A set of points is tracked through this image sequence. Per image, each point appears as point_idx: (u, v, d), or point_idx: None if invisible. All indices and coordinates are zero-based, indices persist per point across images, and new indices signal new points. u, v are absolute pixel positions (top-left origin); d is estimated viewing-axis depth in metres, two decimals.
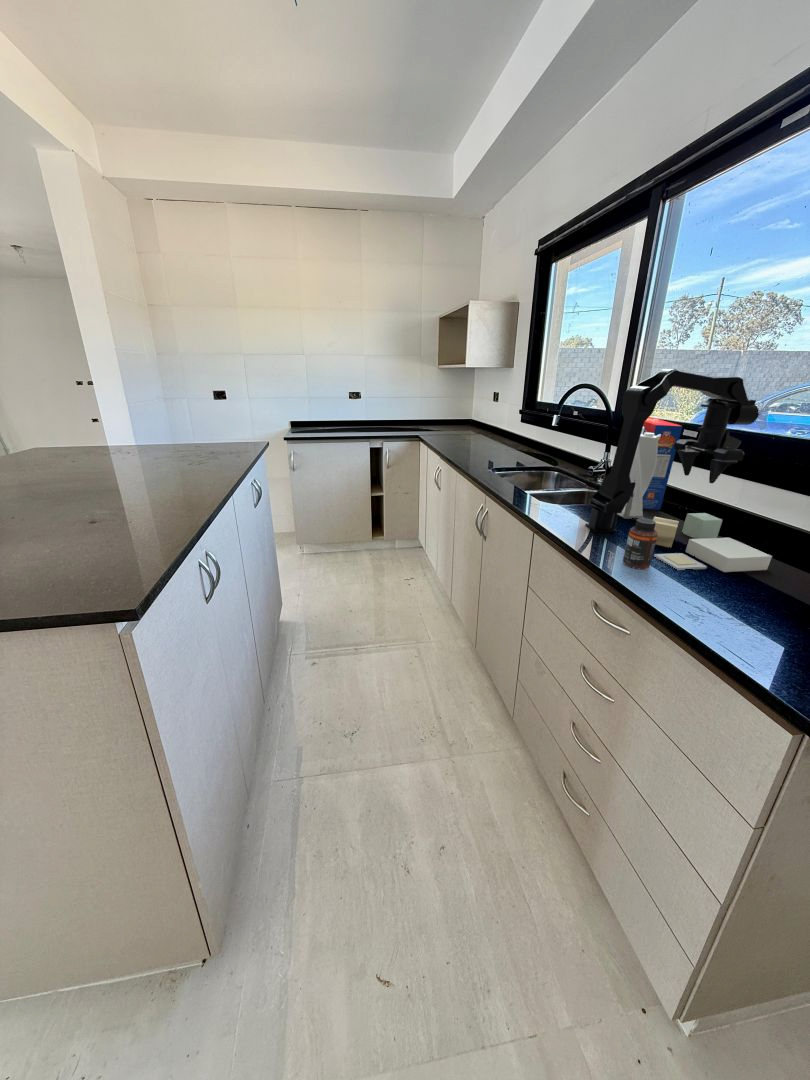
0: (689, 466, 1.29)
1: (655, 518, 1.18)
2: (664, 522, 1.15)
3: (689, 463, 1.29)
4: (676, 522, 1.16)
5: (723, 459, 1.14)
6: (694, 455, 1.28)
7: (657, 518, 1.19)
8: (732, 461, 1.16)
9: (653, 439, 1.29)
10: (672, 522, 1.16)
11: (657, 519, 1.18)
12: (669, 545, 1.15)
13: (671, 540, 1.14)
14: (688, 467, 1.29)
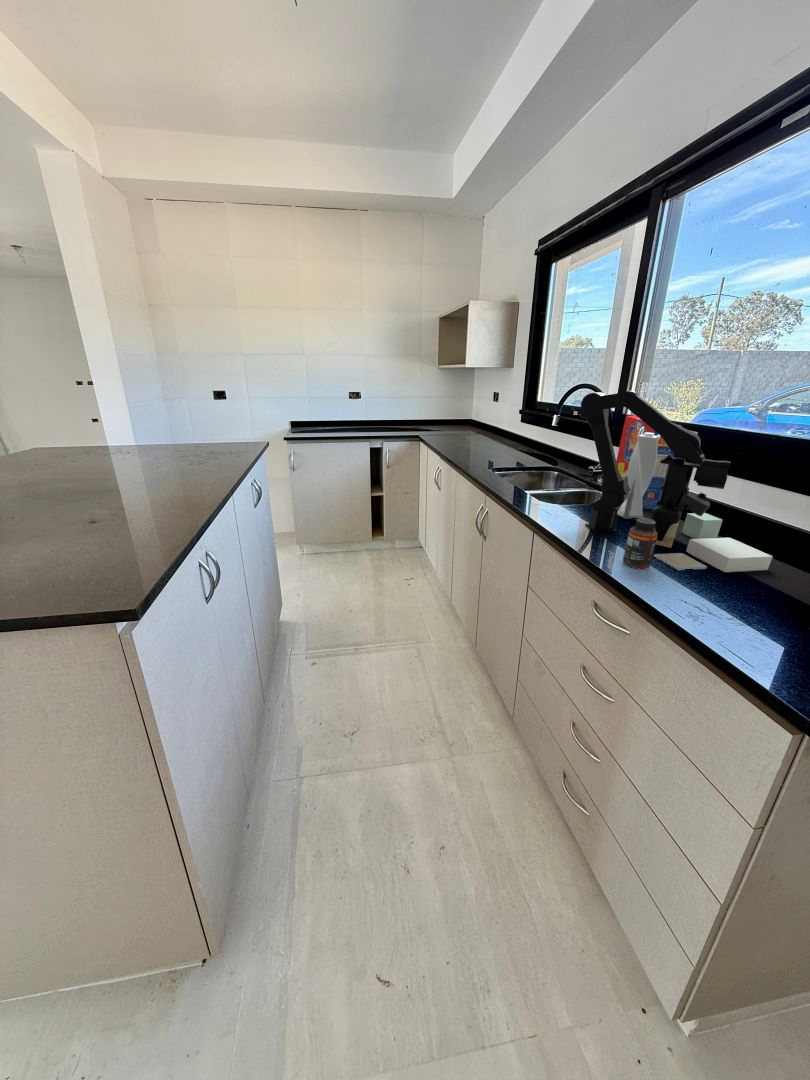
0: None
1: None
2: None
3: None
4: None
5: (651, 517, 1.10)
6: None
7: None
8: None
9: (653, 439, 1.29)
10: None
11: None
12: (669, 545, 1.15)
13: (671, 540, 1.14)
14: None
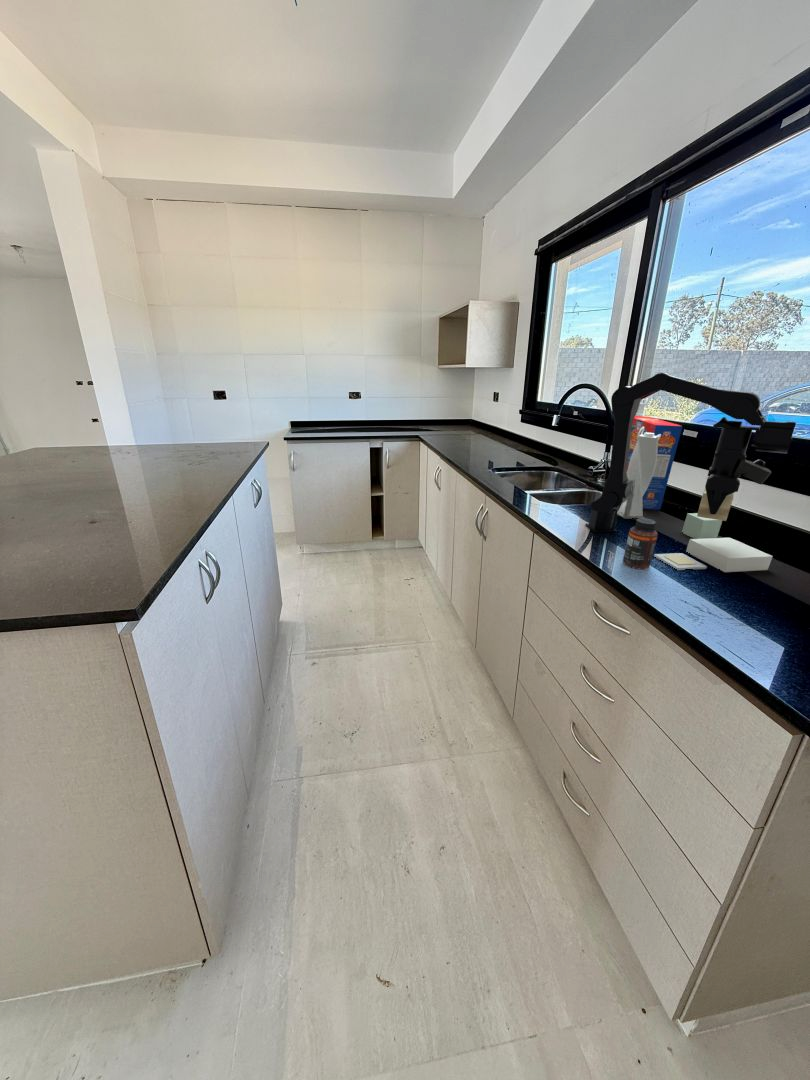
0: None
1: None
2: None
3: None
4: None
5: (706, 486, 0.99)
6: None
7: None
8: None
9: (653, 439, 1.29)
10: None
11: None
12: (724, 518, 1.04)
13: (726, 512, 1.03)
14: None
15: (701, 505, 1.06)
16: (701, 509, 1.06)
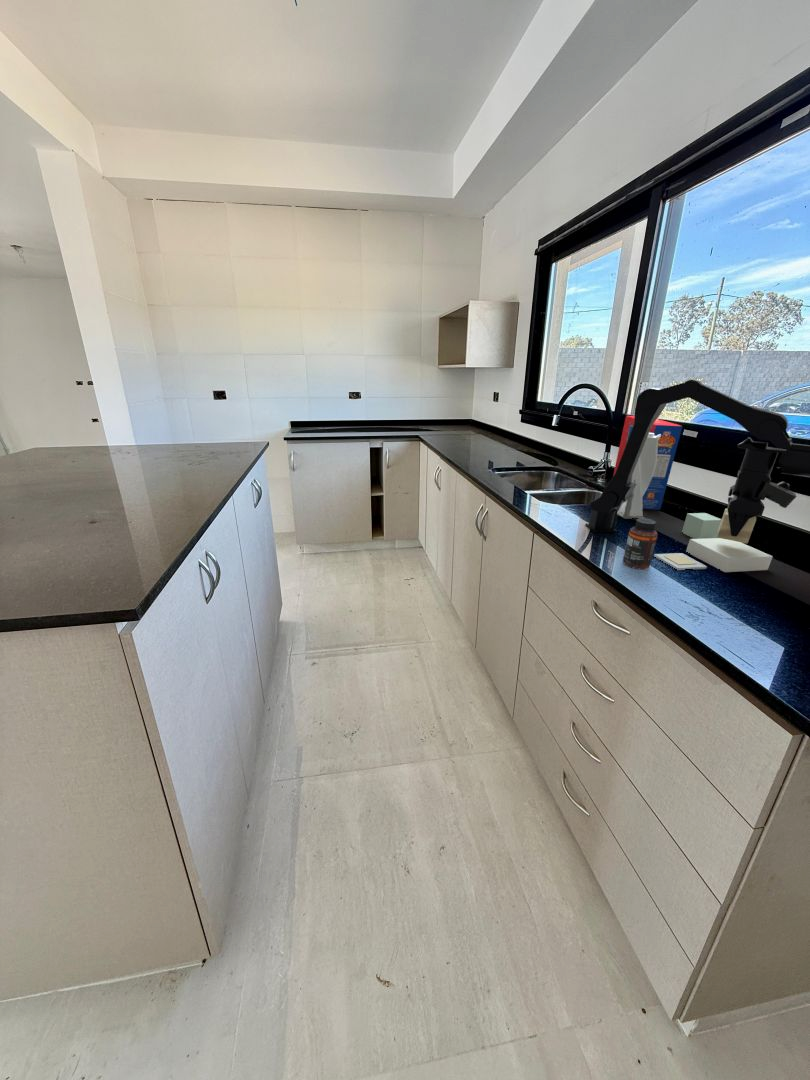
0: None
1: (727, 510, 1.06)
2: None
3: None
4: None
5: (728, 508, 0.97)
6: None
7: None
8: None
9: (653, 439, 1.29)
10: None
11: None
12: (745, 540, 1.02)
13: (748, 535, 1.01)
14: None
15: (722, 526, 1.04)
16: (722, 530, 1.04)
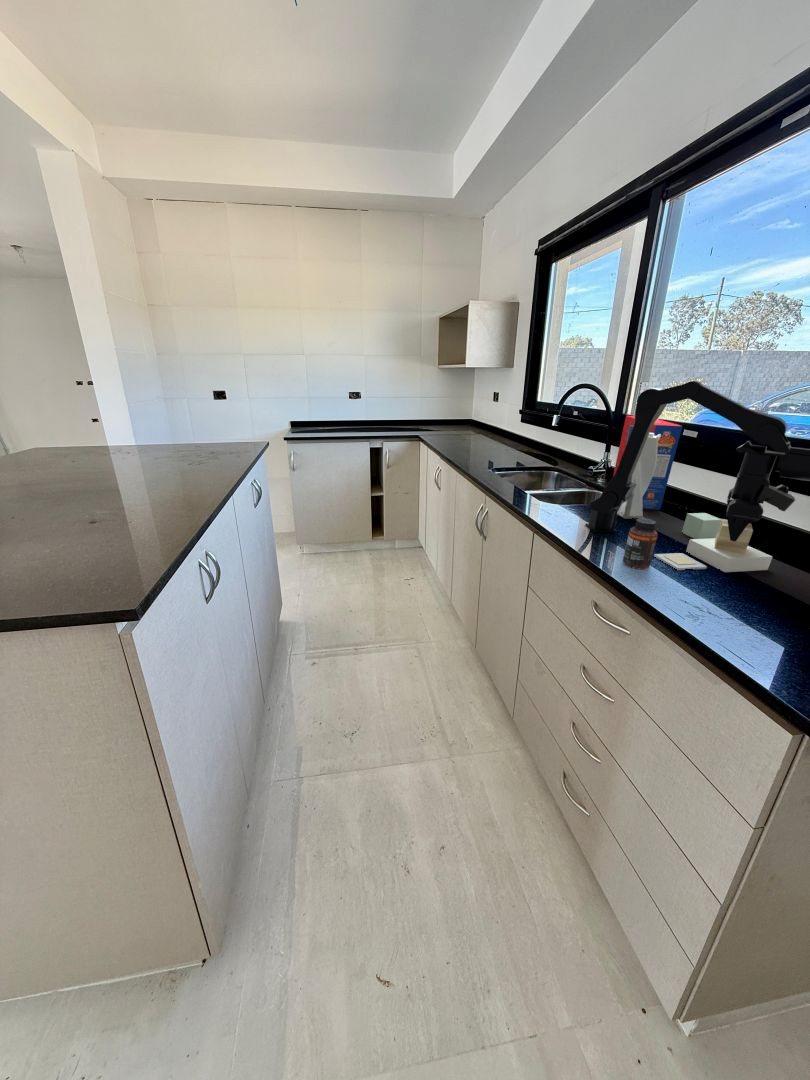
0: None
1: (724, 521, 1.07)
2: None
3: None
4: (748, 525, 1.04)
5: (727, 512, 0.97)
6: None
7: (726, 521, 1.07)
8: (747, 518, 0.96)
9: (653, 439, 1.29)
10: None
11: (727, 522, 1.06)
12: (742, 551, 1.03)
13: (745, 545, 1.02)
14: None
15: (719, 537, 1.05)
16: (719, 541, 1.05)
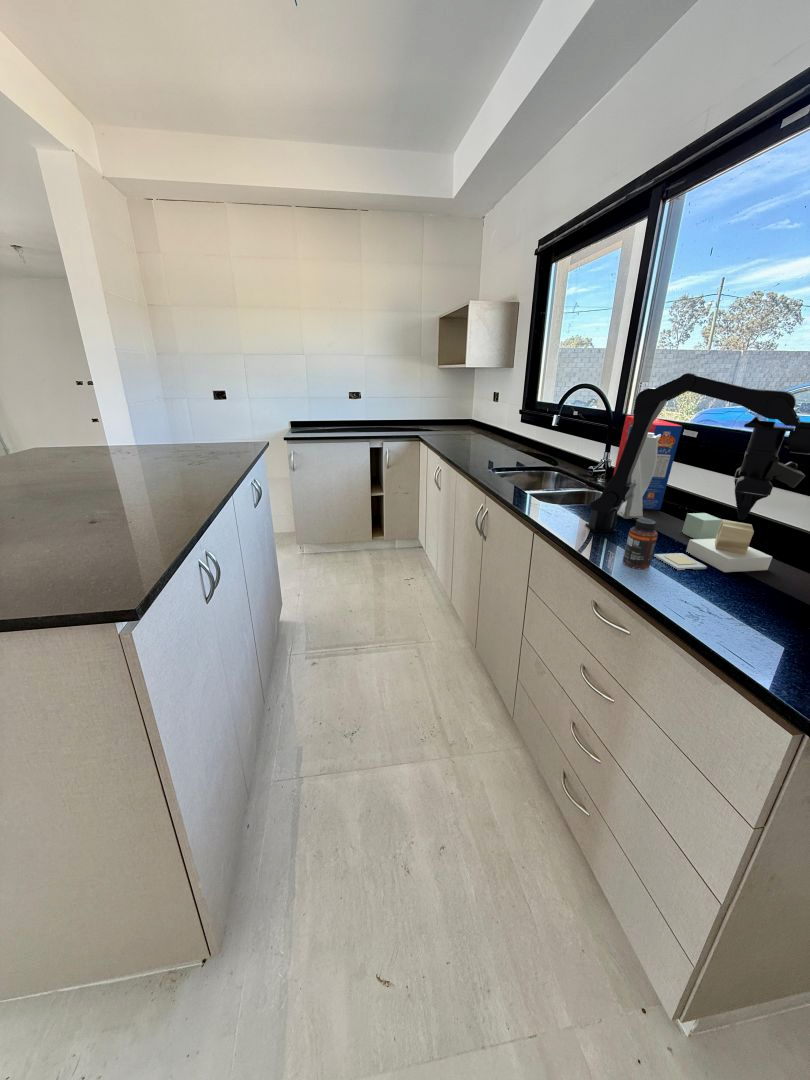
0: None
1: (724, 521, 1.06)
2: (737, 526, 1.03)
3: None
4: (749, 525, 1.04)
5: (736, 489, 0.95)
6: None
7: (726, 521, 1.06)
8: (756, 494, 0.94)
9: (653, 439, 1.29)
10: (745, 526, 1.04)
11: (727, 522, 1.06)
12: (743, 551, 1.03)
13: (746, 546, 1.02)
14: None
15: (720, 538, 1.04)
16: (720, 542, 1.05)
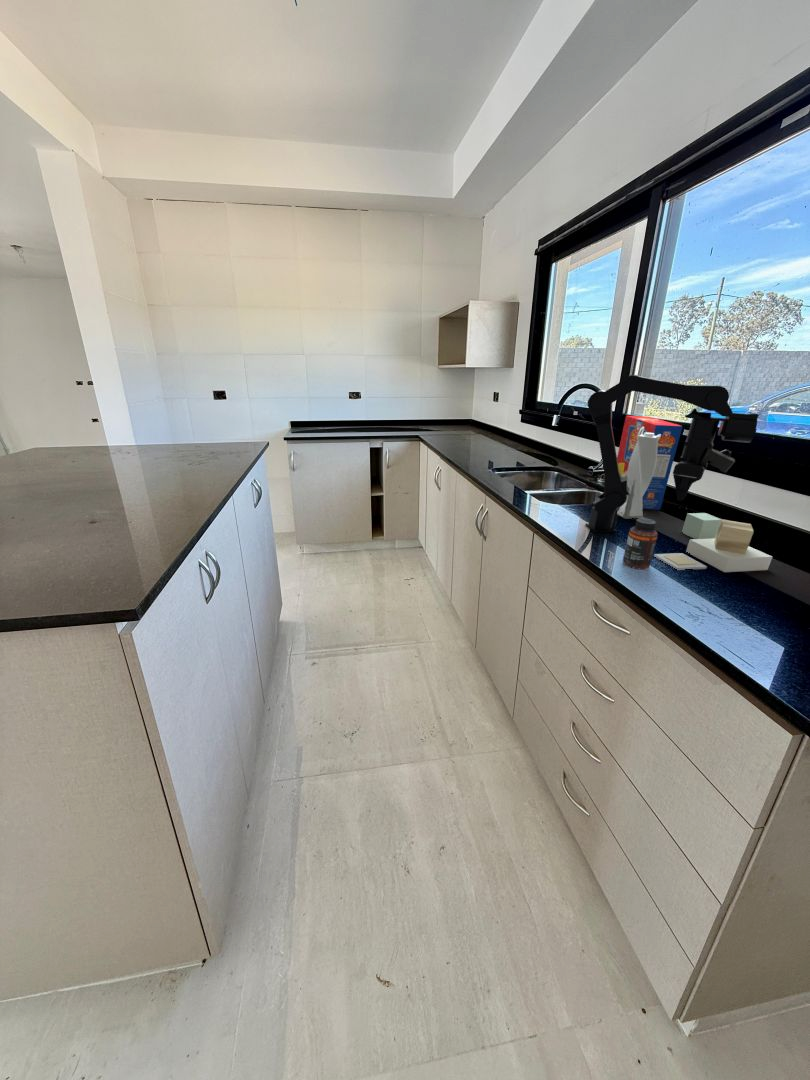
0: None
1: (724, 521, 1.06)
2: (736, 526, 1.03)
3: None
4: (748, 525, 1.04)
5: (673, 472, 1.06)
6: None
7: (726, 521, 1.06)
8: (691, 477, 1.05)
9: (653, 439, 1.29)
10: (745, 525, 1.04)
11: (727, 522, 1.06)
12: (743, 551, 1.03)
13: (746, 546, 1.02)
14: None
15: (720, 538, 1.04)
16: (720, 542, 1.05)
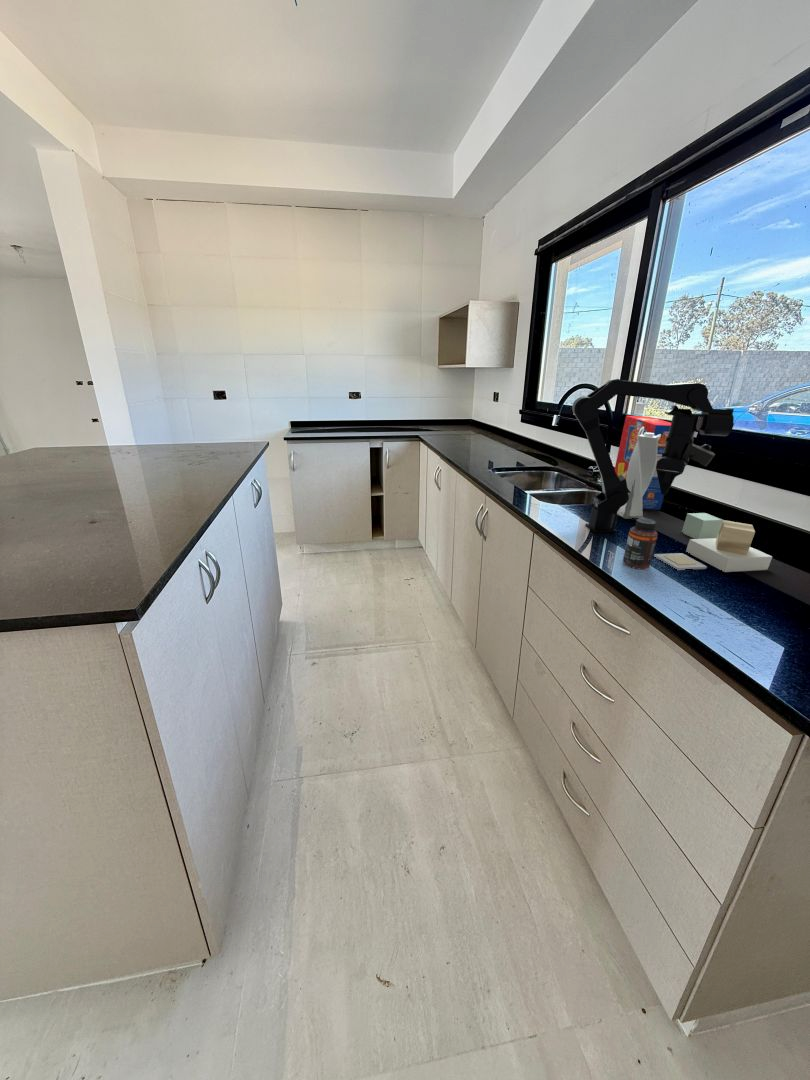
0: None
1: (725, 522, 1.06)
2: (738, 526, 1.03)
3: None
4: (750, 525, 1.04)
5: (656, 467, 1.10)
6: None
7: (727, 522, 1.06)
8: (673, 471, 1.09)
9: (653, 439, 1.29)
10: (746, 526, 1.03)
11: (728, 523, 1.05)
12: (745, 552, 1.02)
13: (747, 546, 1.02)
14: None
15: (721, 539, 1.04)
16: (721, 543, 1.04)
